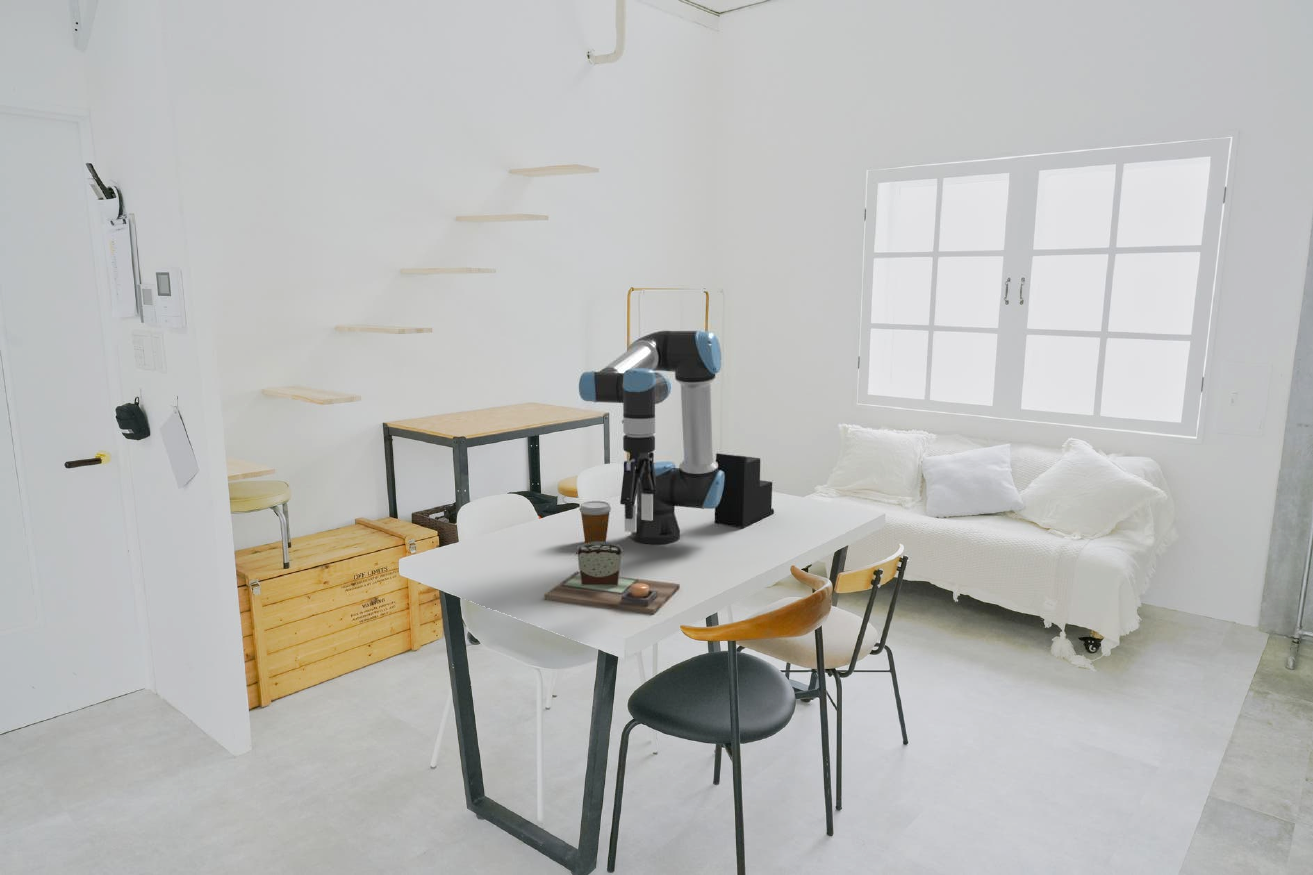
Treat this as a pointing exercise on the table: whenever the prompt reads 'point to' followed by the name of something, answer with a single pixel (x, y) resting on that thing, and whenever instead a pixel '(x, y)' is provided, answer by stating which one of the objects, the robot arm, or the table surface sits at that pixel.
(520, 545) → the table surface
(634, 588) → the button
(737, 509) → the black stepped block
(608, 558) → the food container
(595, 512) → the disposable coffee cup
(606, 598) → the picture board
